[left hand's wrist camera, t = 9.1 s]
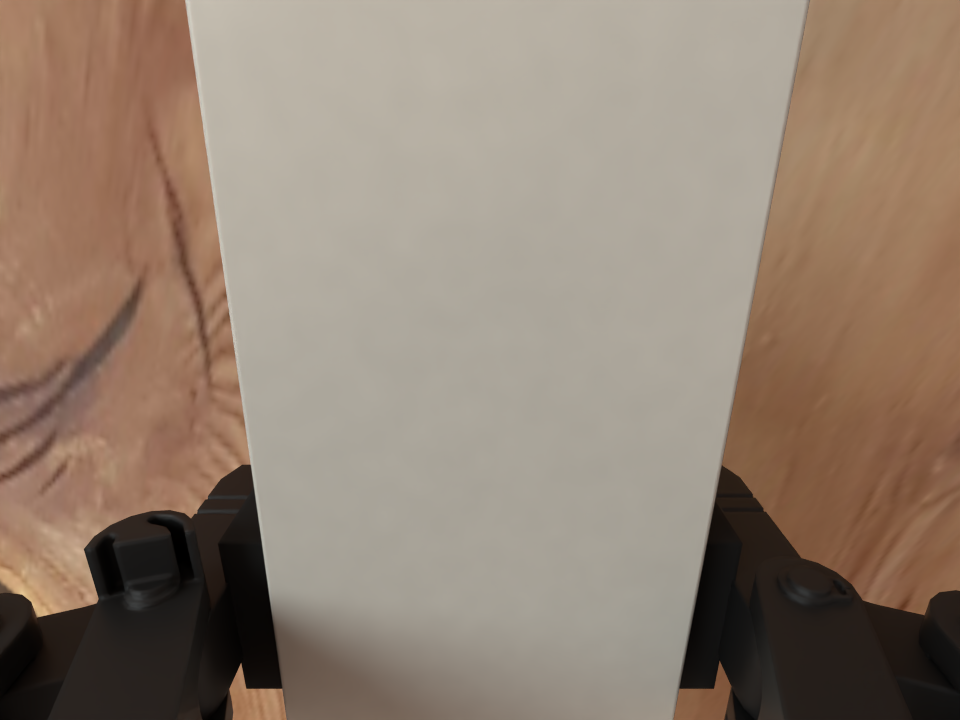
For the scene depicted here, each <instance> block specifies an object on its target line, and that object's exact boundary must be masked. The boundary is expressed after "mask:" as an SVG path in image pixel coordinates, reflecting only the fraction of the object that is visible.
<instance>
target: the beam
mask: <svg viewBox="0 0 960 720" xmlns="http://www.w3.org/2000/svg"><path fill="white" fill-rule="evenodd" d="M185 1H186V8H187V15H188V22H189V29H190V36H191V43H192V51H193V58H194V65H195V72H196V79H197V86H198V93H199V100H200V107H201V114H202V121H203V129H204V136H205V143H206V150H207V157H208V164H209V171H210V178H211V185H212V192H213V199H214V207H215V214H216V221H217V228H218V235H219V242H220V249H221V256H222V263H223V270H224V277H225V285H226V292H227V299H228V306H229V313H230V320H231V327H232V334H233V341H234V348H235V355H236V363H237V370H238V377H239V384H240V391H241V398H242V405H243V412H244V419H245V426H246V433H247V441H248V448H249V455H250V462H251V469H252V476H253V483H254V490H255V497H256V504H257V511H258V519H259V526H260V533H261V540H262V547H263V554H264V561H265V568H266V575H267V582H268V590H269V597H270V604H271V611H272V618H273V625H274V632H275V639H276V646H277V653H278V660H279V668H280V675H281V682H282V689H283V696H284V703H285V710H286V717H287V720H673V719H674V714H675V709H676V703H677V698H678V693H679V687H680V682H681V677H682V672H683V666H684V661H685V656H686V651H687V645H688V640H689V635H690V629H691V624H692V619H693V614H694V608H695V603H696V598H697V593H698V587H699V582H700V577H701V571H702V566H703V561H704V556H705V550H706V545H707V540H708V535H709V529H710V524H711V519H712V513H713V508H714V503H715V498H716V492H717V487H718V482H719V477H720V471H721V466H722V461H723V455H724V450H725V445H726V440H727V434H728V429H729V424H730V419H731V413H732V408H733V403H734V397H735V392H736V387H737V382H738V376H739V371H740V366H741V361H742V355H743V350H744V345H745V339H746V334H747V329H748V324H749V318H750V313H751V308H752V303H753V297H754V292H755V287H756V282H757V276H758V271H759V266H760V260H761V255H762V250H763V245H764V239H765V234H766V229H767V224H768V218H769V213H770V208H771V202H772V197H773V192H774V187H775V181H776V176H777V171H778V166H779V160H780V155H781V150H782V144H783V139H784V134H785V129H786V123H787V118H788V113H789V108H790V102H791V97H792V92H793V86H794V81H795V76H796V71H797V65H798V60H799V55H800V50H801V44H802V39H803V34H804V28H805V23H806V18H807V13H808V7H809V2H810V0H185Z"/></svg>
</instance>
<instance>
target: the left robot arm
mask: <svg viewBox="0 0 960 720" xmlns="http://www.w3.org/2000/svg"><path fill="white" fill-rule="evenodd" d="M84 551H85V554H86V558H87V561H88V564H89V568H90V571H91V574H92V578H93V581H94V584H95V588H96V591H97V594H98V598H99V600H98V602H97V604H93V605H90V606H86V607H82V608H78V609H74V610H69V611H65V612H60V613H56V614H51V615H47V616H42V617H38V618H37V617H36V614H35V611H34V609H33V606H32V603H31V602H30V601H29V600H28V599H27V598H25V597H24V596H23V595H20V594H11V593H1V594H0V720H232V719H233V708H232V701H231V695H230V691H229V688H230V686H231V684H232V681H233V679H234V677H235V675H236V673H237V670H238V668H239V666H240V664H241V663H242V668H243V673H244V678H245V684H246V689H282V682H281V675H280V668H279V660H278V653H277V646H276V639H275V632H274V625H273V618H272V611H271V604H270V597H269V590H268V582H267V575H266V568H265V561H264V554H263V547H262V540H261V533H260V526H259V519H258V511H257V504H256V497H255V490H254V483H253V476H252V469H251V465H241V466H240V467H238V468H237V469H235V470H234V471H232V472H231V473H229V474H228V475H227V476H225V477H224V478H222V479H221V480H220V481H219V482H218V484H217V485H216V486H215V488H214V489H213V490H212V492H211V493H210V494H209V496H208V500H205V501H204V502H203V504H202V505H201V506H200V508H199V509H198V512H197V514H194V516H193V517H192V518H189V517H188V516H187V515H186V514H185V513H180V512H176V511H171V510H165V511H150V512H146V513H142V514H138V515H134V516H130V517H128V518H126V519H124V520H121V521H119V522H117V523H114V524H112V525H110V526H109V527H107V528H106V529H104V530H103V531H102V532H100V533H99V534H97V535H96V536H94V538H93V539H92V540H91V541H90V542H89V544H88V545H87V546H86V547H85V548H84ZM719 661H720V662H721V664H722V667H723V669H724V671H725V673H726V675H727V677H728V680H729V682H730V684H731V691H730V695H729V700H728V705H727V710H726V714H725V719H724V720H960V591H957V590H955V591H947V592H939V593H938V594H937V595H935V596H934V597H933V598H932V599H930V602H929V605H928V607H927V610H926V613H925V615H920V614H916V613H911V612H907V611H903V610H898V609H894V608H889V607H885V606H880V605H876V604H872V603H869V602H865V601H862V599H861V597H860V596H859V594H858V593H857V591H856V590H855V589H854V587H853V586H852V584H850V583H849V582H848V581H847V580H845V579H844V578H843V577H842V576H840V575H839V574H838V573H837V572H835V571H833V570H831V569H829V568H827V567H825V566H823V565H821V564H819V563H816V562H813V561H809V560H806V559H802V558H801V557H800V556H799V555H798V553H797V552H796V551H795V549H794V548H793V547H792V545H791V544H790V543H789V541H788V540H787V539H786V537H785V536H784V535H783V534H782V532H781V531H780V530H779V528H778V527H777V526H776V524H775V523H774V522H773V520H772V519H771V518H770V516H769V515H768V514H767V512H764V511H763V507H762V506H761V505H760V503H759V502H758V501H757V499H756V498H753V494H752V493H751V491H750V490H749V489H748V487H747V486H746V485H745V484H744V482H743V481H742V480H741V478H740V477H739V476H737V475H736V474H734V473H733V472H731V471H730V470H728V469H727V468H725V467H724V466H721V471H720V477H719V482H718V487H717V492H716V498H715V503H714V508H713V513H712V519H711V524H710V529H709V535H708V540H707V545H706V550H705V556H704V561H703V566H702V571H701V577H700V582H699V587H698V593H697V598H696V603H695V608H694V614H693V619H692V624H691V629H690V635H689V640H688V645H687V651H686V656H685V661H684V666H683V672H682V677H681V682H680V687H679V689H714V686H715V681H716V676H717V671H718V666H719Z"/></svg>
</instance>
